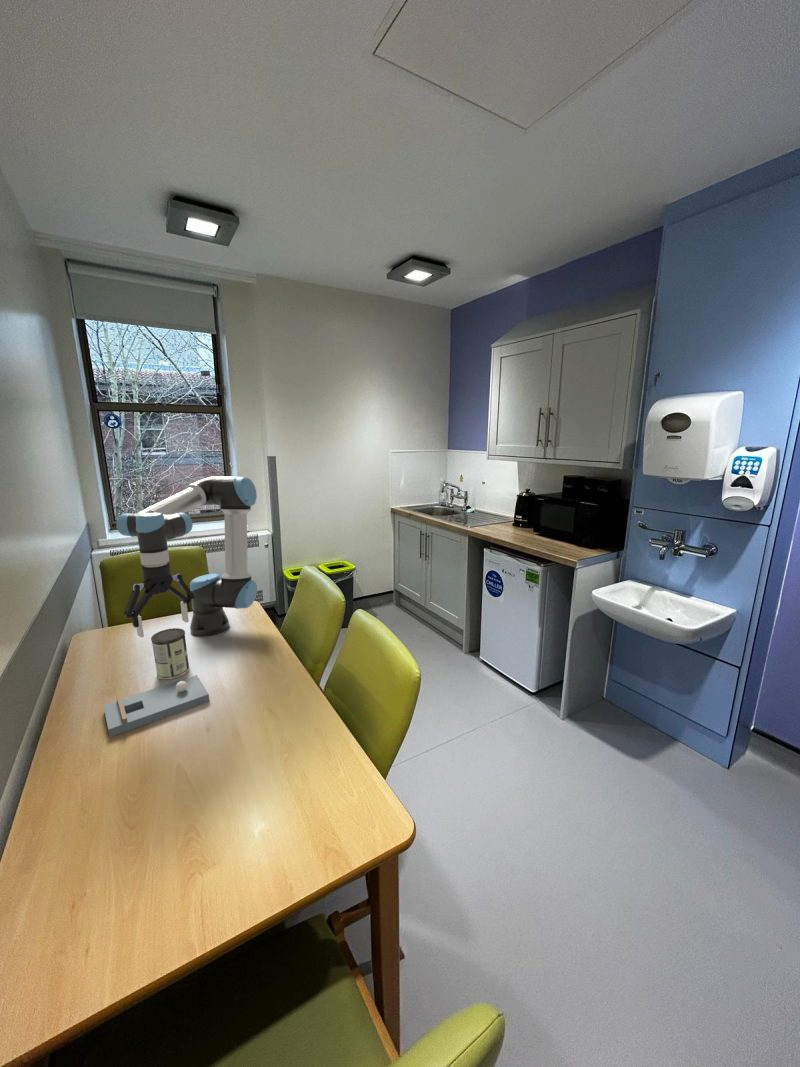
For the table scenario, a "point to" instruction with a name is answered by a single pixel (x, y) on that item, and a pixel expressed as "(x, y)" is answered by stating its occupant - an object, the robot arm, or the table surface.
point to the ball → (181, 686)
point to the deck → (153, 705)
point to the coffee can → (170, 653)
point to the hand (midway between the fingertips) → (164, 628)
